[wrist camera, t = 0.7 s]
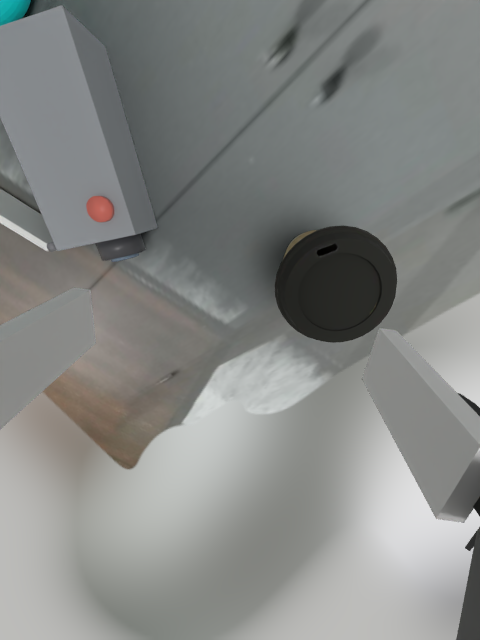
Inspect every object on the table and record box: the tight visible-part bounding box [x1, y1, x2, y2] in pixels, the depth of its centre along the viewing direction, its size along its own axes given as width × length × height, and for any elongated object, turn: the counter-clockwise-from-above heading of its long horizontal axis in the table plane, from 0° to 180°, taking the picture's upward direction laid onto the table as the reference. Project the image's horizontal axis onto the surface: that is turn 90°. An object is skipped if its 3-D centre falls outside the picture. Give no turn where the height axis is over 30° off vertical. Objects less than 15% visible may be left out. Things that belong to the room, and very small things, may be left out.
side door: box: [0, 189, 57, 251], centre depth 33 cm, size 14×2×6 cm, turn 56°
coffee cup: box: [275, 226, 397, 342], centre depth 30 cm, size 10×10×15 cm
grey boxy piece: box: [0, 5, 158, 262], centre depth 31 cm, size 20×9×8 cm, turn 11°
